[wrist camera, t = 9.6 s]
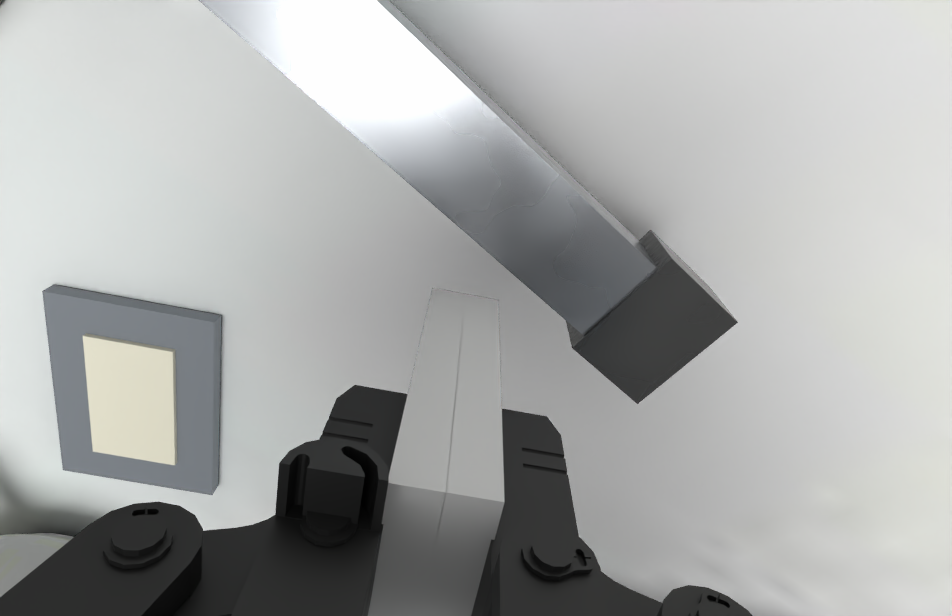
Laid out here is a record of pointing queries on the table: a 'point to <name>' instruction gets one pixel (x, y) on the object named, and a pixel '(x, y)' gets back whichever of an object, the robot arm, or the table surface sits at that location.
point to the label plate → (135, 388)
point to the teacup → (25, 555)
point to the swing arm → (491, 182)
